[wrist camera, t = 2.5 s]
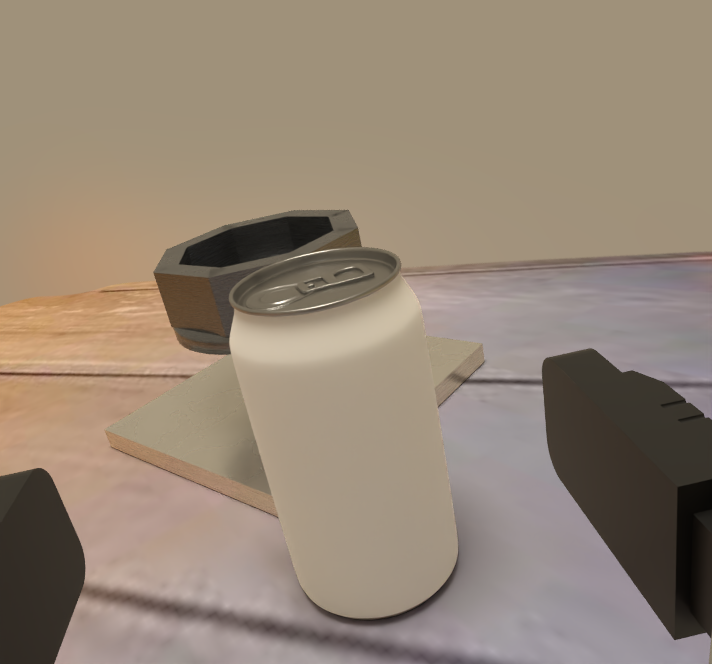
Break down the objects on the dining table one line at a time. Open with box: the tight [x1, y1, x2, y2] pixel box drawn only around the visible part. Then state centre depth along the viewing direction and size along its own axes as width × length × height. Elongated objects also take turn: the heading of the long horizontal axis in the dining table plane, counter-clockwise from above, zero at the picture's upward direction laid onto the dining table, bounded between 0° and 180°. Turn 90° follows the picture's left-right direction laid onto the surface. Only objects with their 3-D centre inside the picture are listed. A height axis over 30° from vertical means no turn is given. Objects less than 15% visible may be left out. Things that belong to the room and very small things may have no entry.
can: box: [229, 247, 458, 620], centre depth 23 cm, size 6×6×12 cm
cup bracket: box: [105, 210, 485, 517], centre depth 36 cm, size 16×16×10 cm
